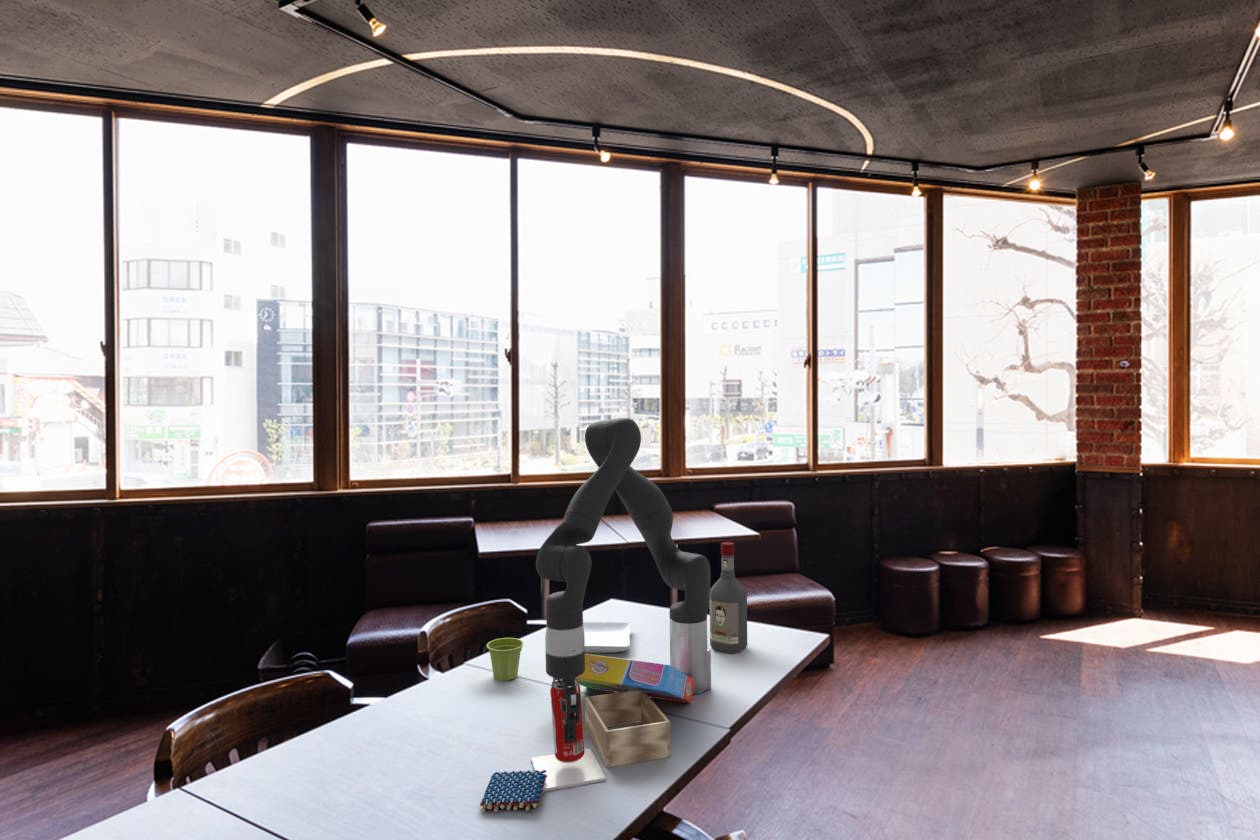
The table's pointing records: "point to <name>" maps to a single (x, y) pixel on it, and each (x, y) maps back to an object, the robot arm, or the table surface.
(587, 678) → the game box
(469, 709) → the table surface
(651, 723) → the crate
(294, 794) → the table surface
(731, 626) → the liquor
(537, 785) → the woven mat
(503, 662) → the plant pot
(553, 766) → the coaster
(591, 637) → the salad plate
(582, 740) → the beverage can
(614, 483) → the robot arm
